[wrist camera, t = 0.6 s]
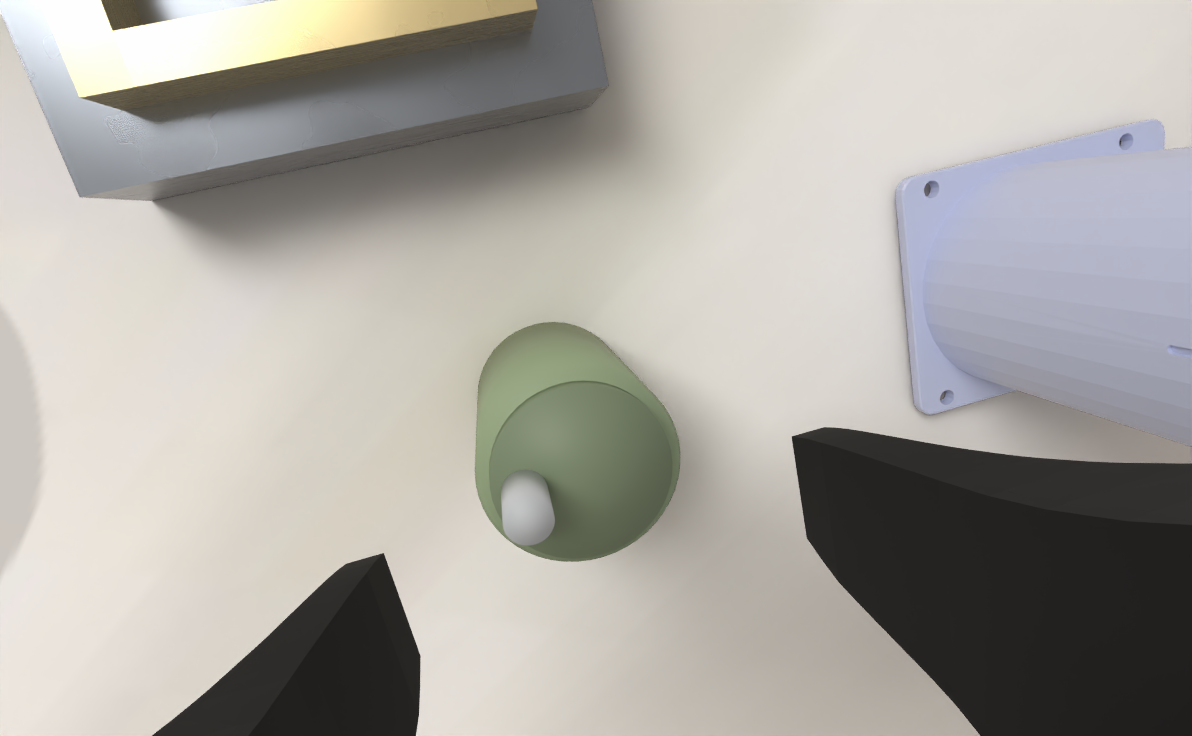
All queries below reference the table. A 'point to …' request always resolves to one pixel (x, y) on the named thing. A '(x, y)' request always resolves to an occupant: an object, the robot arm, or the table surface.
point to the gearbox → (287, 81)
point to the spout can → (570, 445)
